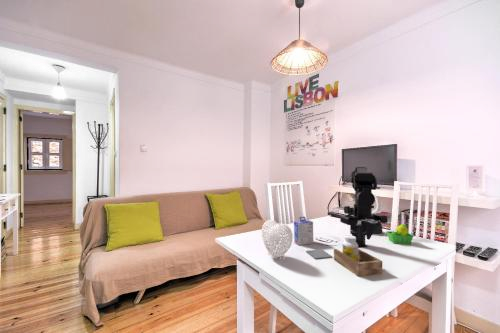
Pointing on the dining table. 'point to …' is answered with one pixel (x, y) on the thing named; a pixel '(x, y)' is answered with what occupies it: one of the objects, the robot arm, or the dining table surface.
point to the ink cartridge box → (303, 231)
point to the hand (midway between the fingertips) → (363, 239)
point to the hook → (379, 228)
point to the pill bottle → (350, 247)
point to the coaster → (319, 254)
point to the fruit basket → (400, 235)
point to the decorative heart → (276, 238)
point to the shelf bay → (359, 263)
